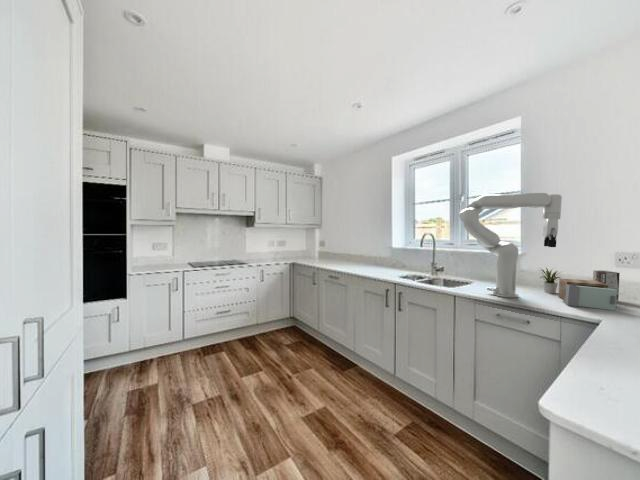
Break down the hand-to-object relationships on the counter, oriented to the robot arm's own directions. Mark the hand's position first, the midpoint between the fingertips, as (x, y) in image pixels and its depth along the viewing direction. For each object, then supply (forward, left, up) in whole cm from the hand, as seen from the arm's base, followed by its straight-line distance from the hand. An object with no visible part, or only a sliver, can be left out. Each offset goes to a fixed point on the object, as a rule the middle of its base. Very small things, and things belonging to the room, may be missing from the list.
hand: (549, 246), depth 152 cm
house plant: (+4, +19, -30) cm, 36 cm away
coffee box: (+27, +9, -30) cm, 41 cm away
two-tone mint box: (+13, -15, -29) cm, 35 cm away
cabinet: (+13, -6, -29) cm, 33 cm away
